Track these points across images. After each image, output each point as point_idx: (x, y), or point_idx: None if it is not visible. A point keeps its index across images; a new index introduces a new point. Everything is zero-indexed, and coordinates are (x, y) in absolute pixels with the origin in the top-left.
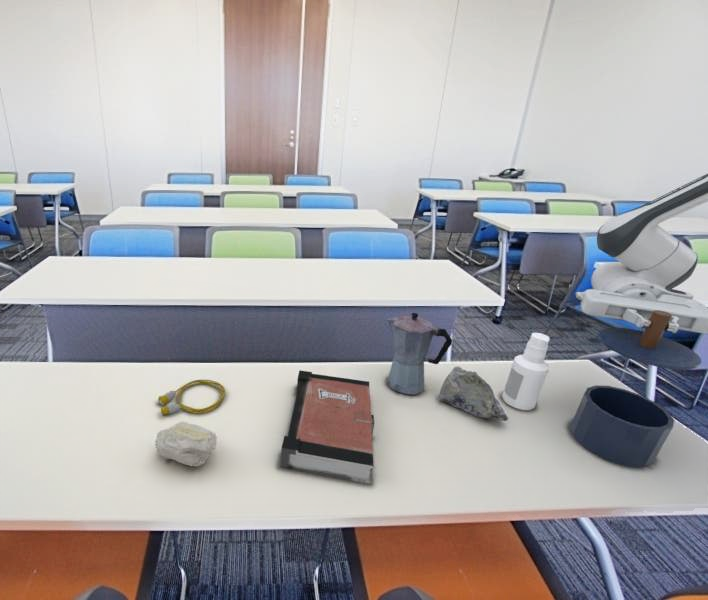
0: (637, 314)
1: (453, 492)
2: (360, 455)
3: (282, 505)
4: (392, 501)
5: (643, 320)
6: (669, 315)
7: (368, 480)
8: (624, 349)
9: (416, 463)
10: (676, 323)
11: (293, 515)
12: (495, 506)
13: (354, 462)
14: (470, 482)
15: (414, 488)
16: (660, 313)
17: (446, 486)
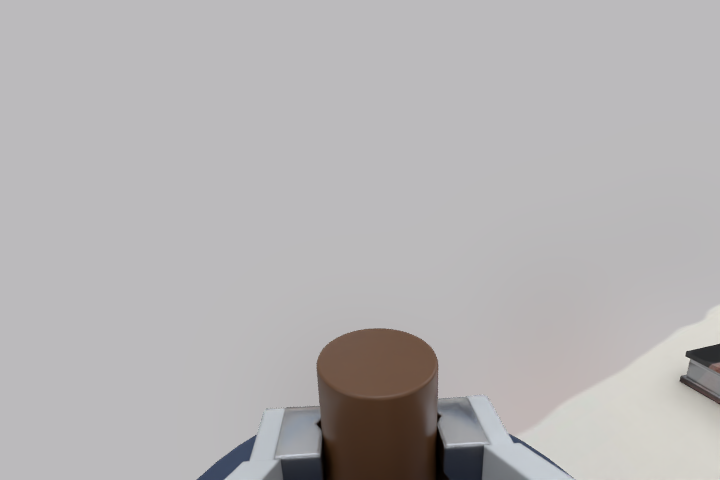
0: (528, 458)
1: (601, 412)
2: (716, 356)
3: (698, 334)
4: (638, 374)
5: (473, 396)
6: (345, 337)
7: (683, 375)
8: None
9: (685, 436)
10: (267, 427)
11: (679, 331)
12: (548, 416)
13: (705, 347)
14: (599, 438)
15: (640, 397)
16: (394, 346)
17: (616, 417)
